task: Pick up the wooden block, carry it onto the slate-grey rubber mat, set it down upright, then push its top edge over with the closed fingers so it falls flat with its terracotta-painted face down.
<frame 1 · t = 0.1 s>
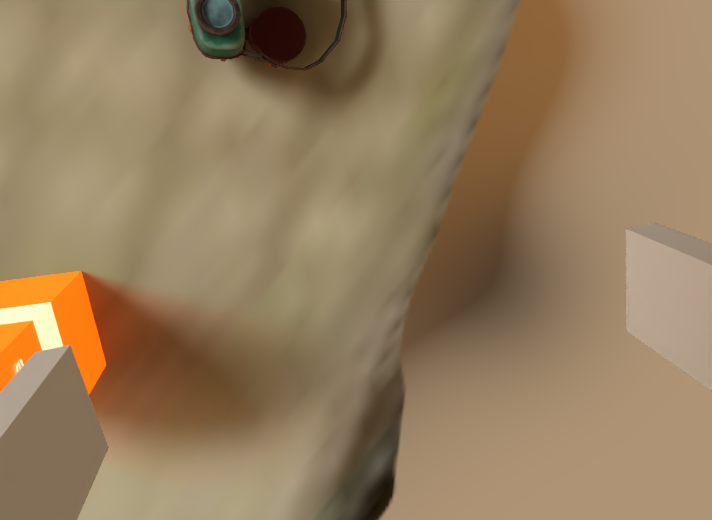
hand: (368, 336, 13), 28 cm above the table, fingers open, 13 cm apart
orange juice: (33, 327, 40), on the table
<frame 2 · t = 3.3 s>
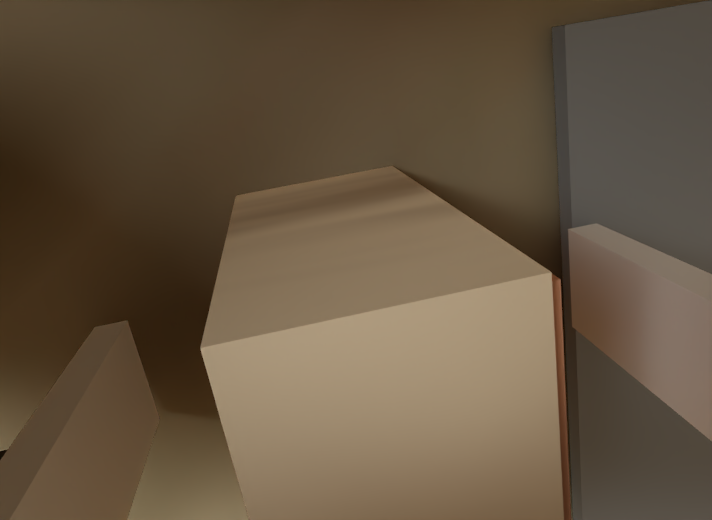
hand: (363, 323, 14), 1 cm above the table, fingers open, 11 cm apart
wooden block: (343, 311, 15), on the table
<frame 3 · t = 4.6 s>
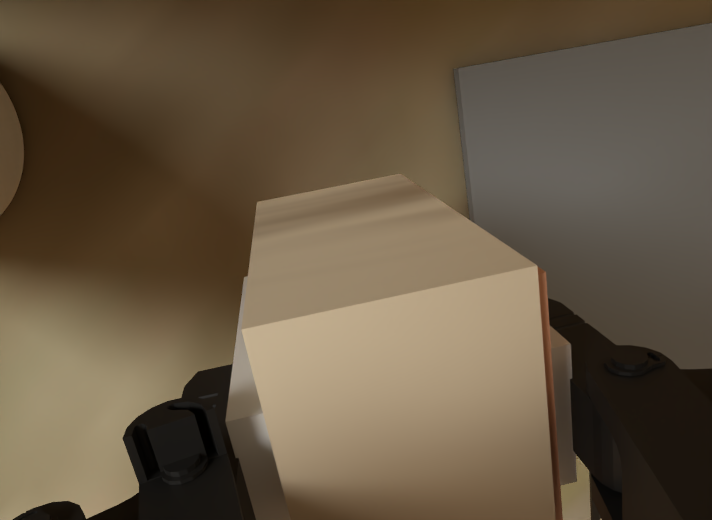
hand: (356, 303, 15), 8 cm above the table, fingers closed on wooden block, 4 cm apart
mat: (625, 229, 25), on the table
wooden block: (356, 309, 16), point 8 cm above the table, touching gripper
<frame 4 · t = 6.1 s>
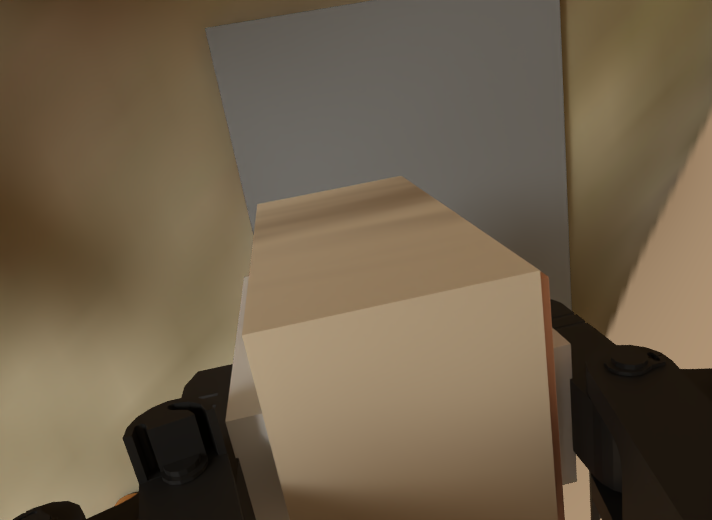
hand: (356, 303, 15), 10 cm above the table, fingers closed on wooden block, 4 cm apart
mat: (409, 196, 25), on the table
wooden block: (356, 311, 16), point 10 cm above the table, touching gripper
when the fingers open (2 cm above the table, at t = 7.7 s): wooden block stays where it is, resting on mat.
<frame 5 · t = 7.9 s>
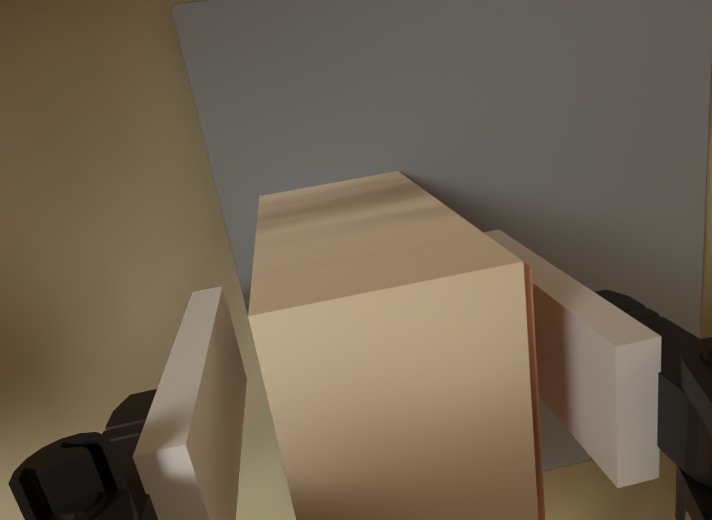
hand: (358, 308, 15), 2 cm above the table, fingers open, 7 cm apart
mat: (477, 255, 17), on the table
wooden block: (353, 301, 16), point 1 cm above the table, touching mat
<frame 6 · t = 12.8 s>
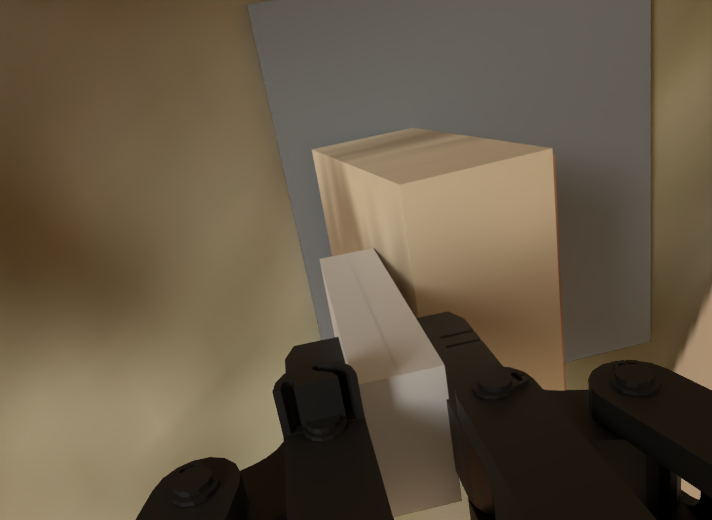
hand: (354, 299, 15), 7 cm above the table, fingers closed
mat: (473, 195, 22), on the table
wooden block: (381, 231, 21), point 1 cm above the table, tilted 10°, touching mat
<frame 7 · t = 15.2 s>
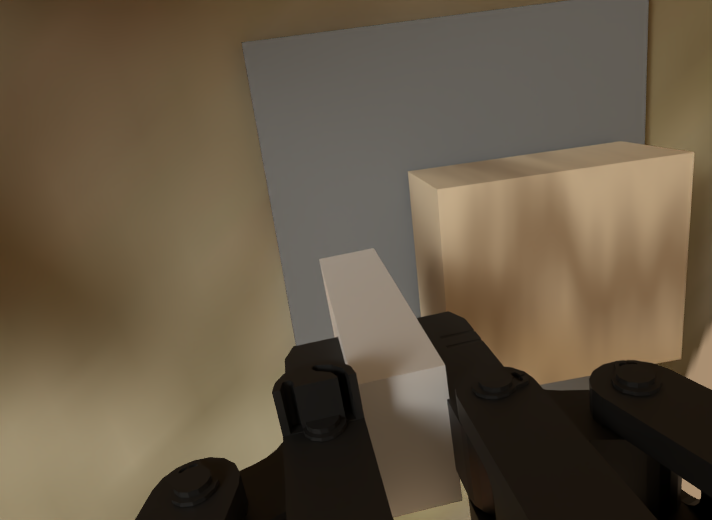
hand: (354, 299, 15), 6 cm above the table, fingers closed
mat: (463, 240, 22), on the table
wooden block: (428, 280, 19), point 3 cm above the table, tilted 90°, touching mat
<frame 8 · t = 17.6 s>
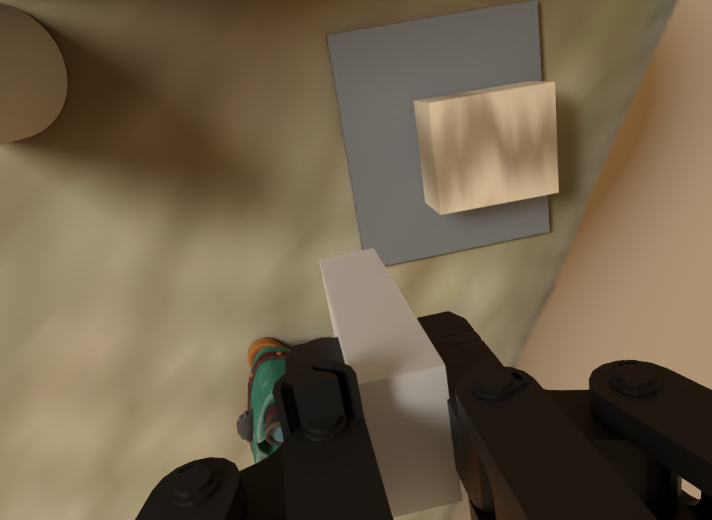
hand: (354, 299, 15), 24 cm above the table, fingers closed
travel mug: (0, 73, 34), on the table
mat: (445, 140, 39), on the table
binoculars: (305, 376, 44), on the table
wooden block: (426, 156, 37), point 3 cm above the table, tilted 90°, touching mat
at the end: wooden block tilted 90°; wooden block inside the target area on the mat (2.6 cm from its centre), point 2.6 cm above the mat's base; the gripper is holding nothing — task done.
